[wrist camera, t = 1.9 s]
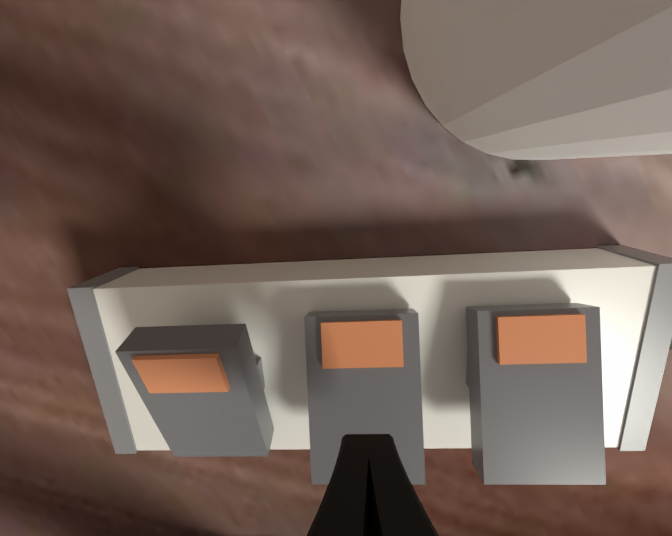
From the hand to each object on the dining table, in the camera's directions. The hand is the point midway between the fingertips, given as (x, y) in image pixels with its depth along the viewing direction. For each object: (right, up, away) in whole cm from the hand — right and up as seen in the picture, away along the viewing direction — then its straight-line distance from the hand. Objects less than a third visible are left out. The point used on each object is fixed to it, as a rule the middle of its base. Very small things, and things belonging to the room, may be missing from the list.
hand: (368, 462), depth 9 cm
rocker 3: (+6, +1, +2) cm, 7 cm away
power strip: (+3, +2, +7) cm, 8 cm away
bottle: (+7, +16, +3) cm, 17 cm away
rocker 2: (0, +1, +3) cm, 3 cm away
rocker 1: (-6, +1, +3) cm, 7 cm away
